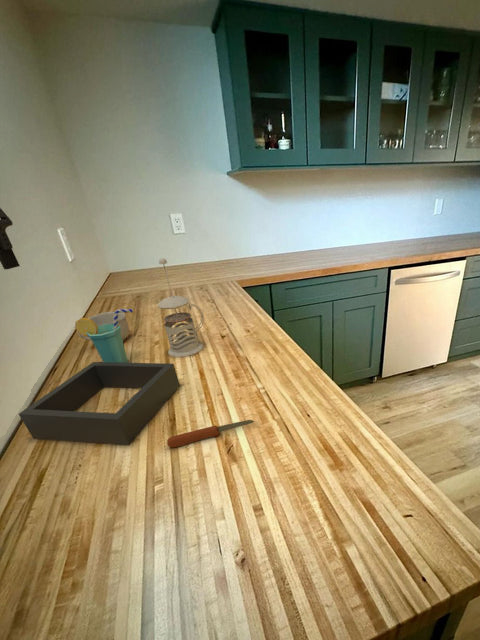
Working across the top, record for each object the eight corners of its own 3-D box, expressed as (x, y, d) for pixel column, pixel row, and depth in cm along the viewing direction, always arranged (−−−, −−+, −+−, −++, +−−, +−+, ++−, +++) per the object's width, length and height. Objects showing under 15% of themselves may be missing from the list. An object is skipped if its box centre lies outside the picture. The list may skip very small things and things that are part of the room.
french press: (165, 347, 98) (139, 258, 86) (204, 337, 102) (185, 252, 90) (170, 360, 90) (143, 265, 78) (213, 349, 95) (193, 257, 82)
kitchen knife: (168, 450, 59) (165, 441, 58) (169, 445, 61) (166, 436, 60) (255, 427, 63) (254, 419, 62) (254, 423, 64) (253, 414, 63)
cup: (149, 354, 95) (132, 302, 87) (149, 365, 88) (130, 311, 81) (94, 365, 91) (71, 312, 83) (90, 378, 84) (65, 322, 77)
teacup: (127, 331, 111) (119, 308, 107) (137, 340, 104) (129, 316, 100) (81, 345, 104) (70, 320, 100) (88, 356, 96) (76, 330, 92)
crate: (33, 438, 65) (18, 413, 62) (102, 383, 82) (93, 361, 79) (129, 445, 61) (117, 419, 58) (180, 386, 78) (173, 363, 75)
